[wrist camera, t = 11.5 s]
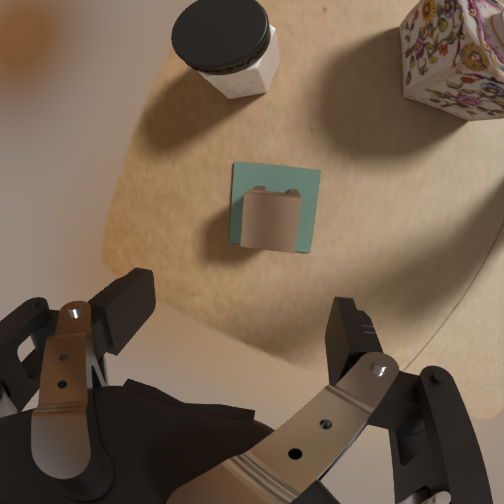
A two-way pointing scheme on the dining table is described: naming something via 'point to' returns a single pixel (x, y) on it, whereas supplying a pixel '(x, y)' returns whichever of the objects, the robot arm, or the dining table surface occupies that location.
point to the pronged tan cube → (270, 219)
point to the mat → (276, 181)
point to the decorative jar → (455, 57)
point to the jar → (228, 45)
